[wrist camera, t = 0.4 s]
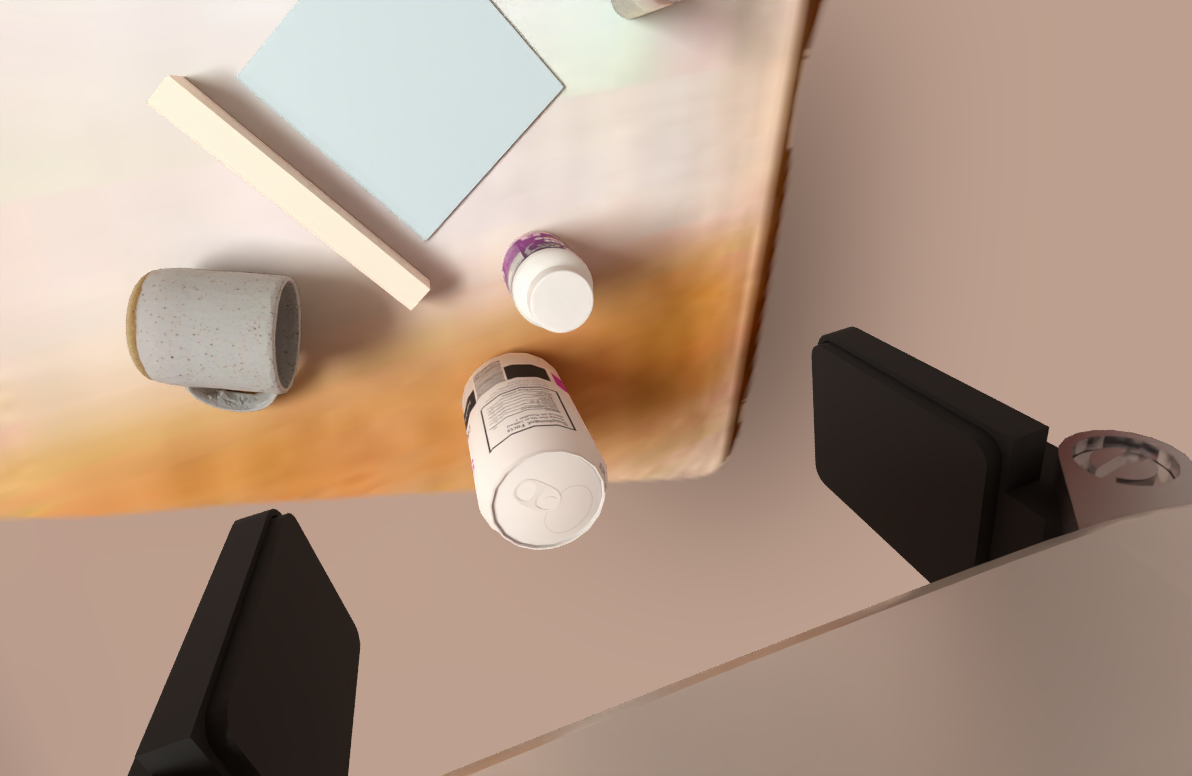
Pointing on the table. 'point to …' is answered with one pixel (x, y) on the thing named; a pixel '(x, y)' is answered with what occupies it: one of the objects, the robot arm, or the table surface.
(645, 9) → the post
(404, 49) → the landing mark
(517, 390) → the supplement can
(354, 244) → the strip
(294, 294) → the ceramic mug
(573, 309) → the pill bottle
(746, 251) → the table surface
